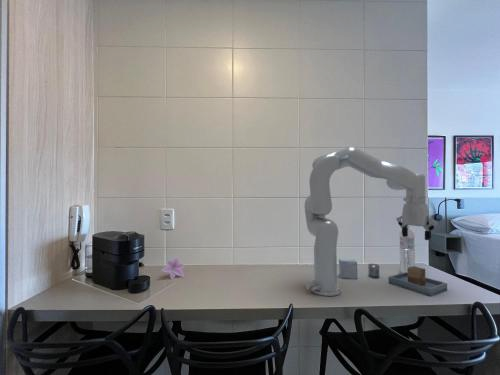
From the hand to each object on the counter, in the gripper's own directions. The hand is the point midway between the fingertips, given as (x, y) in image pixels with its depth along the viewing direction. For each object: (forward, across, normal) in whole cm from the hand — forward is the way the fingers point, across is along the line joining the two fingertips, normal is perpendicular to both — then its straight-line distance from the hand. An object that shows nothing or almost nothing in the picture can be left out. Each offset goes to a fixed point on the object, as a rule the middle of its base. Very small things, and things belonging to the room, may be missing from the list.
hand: (415, 238), depth 116 cm
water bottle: (+22, -13, +16) cm, 30 cm away
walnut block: (+21, 0, 0) cm, 21 cm away
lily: (+23, -69, -94) cm, 118 cm away
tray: (+22, 0, 0) cm, 22 cm away
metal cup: (+22, -18, -5) cm, 29 cm away
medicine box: (+22, -24, -17) cm, 37 cm away
